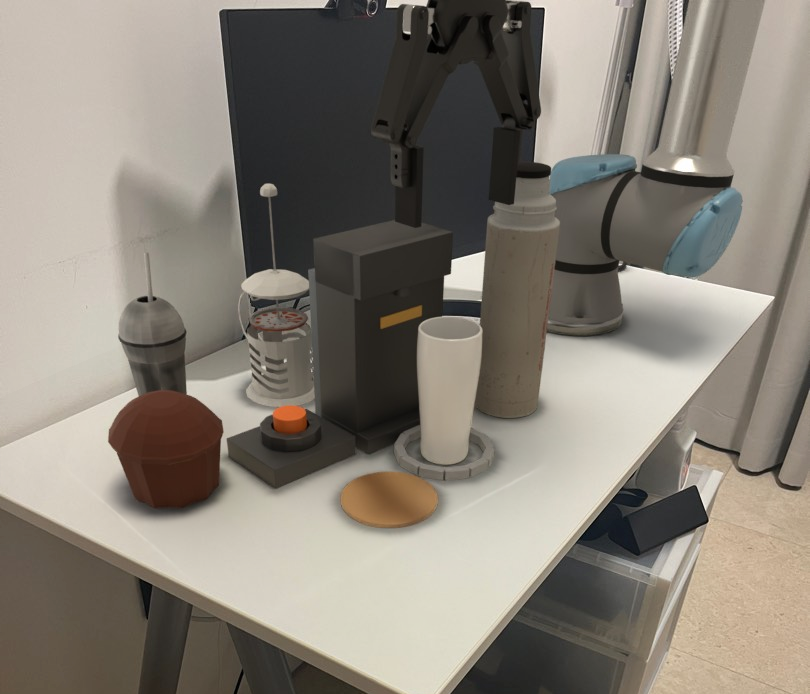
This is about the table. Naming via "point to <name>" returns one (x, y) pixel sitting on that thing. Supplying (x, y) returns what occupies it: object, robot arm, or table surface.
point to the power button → (289, 419)
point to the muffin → (168, 448)
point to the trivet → (389, 499)
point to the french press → (278, 336)
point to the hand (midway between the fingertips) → (456, 212)
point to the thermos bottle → (517, 295)
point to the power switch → (290, 449)
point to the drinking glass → (447, 385)
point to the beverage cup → (154, 342)
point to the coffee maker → (379, 335)
